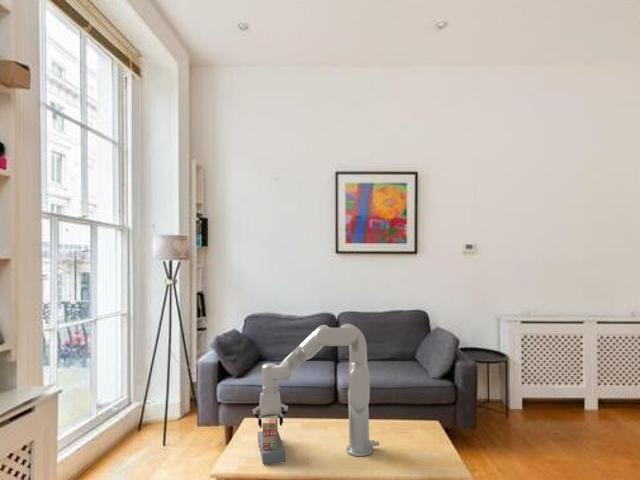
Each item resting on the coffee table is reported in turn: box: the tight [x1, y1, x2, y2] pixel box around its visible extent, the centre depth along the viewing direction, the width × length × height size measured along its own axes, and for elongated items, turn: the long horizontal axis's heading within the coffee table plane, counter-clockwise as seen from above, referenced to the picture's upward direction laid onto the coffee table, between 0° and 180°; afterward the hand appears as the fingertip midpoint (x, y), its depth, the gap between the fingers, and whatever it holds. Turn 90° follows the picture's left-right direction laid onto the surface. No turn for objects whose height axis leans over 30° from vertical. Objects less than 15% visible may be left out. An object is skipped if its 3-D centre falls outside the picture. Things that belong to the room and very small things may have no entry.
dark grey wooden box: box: [257, 430, 286, 466], centre depth 206 cm, size 10×26×5 cm, turn 13°
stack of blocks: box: [262, 414, 279, 450], centre depth 207 cm, size 21×6×12 cm, turn 4°
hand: (270, 426), depth 206 cm, fingers open, 9 cm apart
